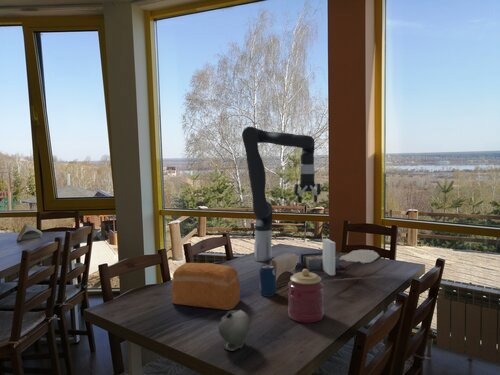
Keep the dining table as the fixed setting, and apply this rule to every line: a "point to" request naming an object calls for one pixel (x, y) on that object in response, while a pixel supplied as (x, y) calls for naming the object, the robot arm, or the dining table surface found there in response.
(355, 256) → the stone tablet
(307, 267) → the offcut block left
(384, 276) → the dining table surface
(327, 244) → the cream board
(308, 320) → the canister
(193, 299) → the bread
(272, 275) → the soda can
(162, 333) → the dining table surface
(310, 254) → the metal rack
